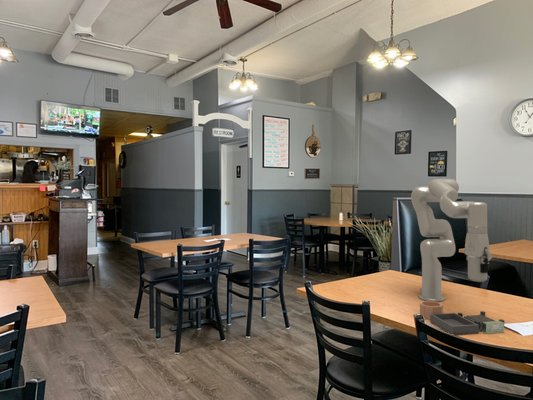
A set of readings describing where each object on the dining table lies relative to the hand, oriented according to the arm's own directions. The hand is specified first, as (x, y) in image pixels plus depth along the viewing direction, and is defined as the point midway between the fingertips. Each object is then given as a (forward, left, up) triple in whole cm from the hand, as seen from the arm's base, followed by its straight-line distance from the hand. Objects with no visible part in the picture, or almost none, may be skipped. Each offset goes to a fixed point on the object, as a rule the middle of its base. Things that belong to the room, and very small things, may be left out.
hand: (477, 270), depth 172 cm
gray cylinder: (0, 0, -4) cm, 4 cm away
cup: (-10, -16, -23) cm, 29 cm away
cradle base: (+6, -2, -23) cm, 23 cm away
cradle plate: (+4, -2, -22) cm, 22 cm away
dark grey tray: (+4, -14, -23) cm, 27 cm away
